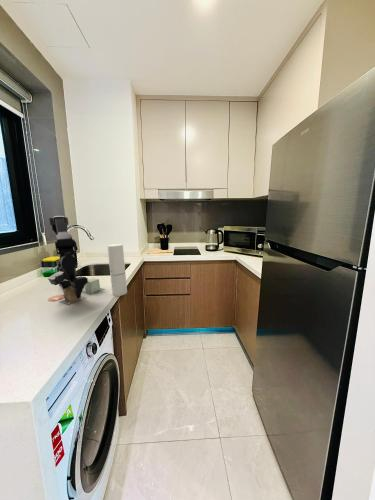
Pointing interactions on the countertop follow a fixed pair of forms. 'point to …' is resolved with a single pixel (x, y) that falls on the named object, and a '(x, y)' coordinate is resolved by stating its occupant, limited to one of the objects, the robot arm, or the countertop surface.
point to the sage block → (92, 285)
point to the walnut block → (70, 295)
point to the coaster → (56, 298)
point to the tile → (72, 302)
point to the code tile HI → (92, 293)
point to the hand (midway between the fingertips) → (72, 296)
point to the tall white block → (117, 269)
